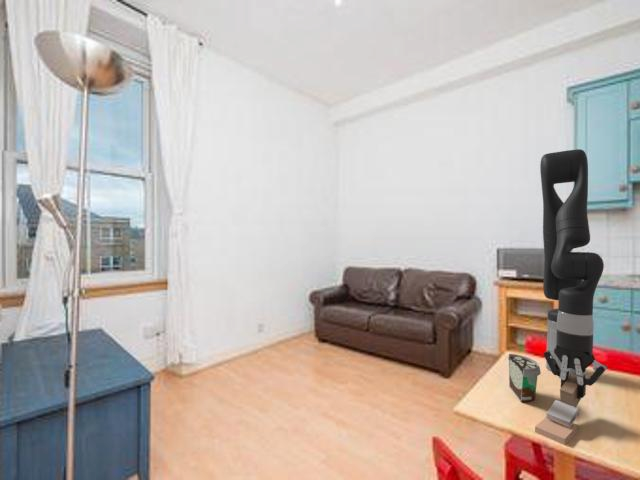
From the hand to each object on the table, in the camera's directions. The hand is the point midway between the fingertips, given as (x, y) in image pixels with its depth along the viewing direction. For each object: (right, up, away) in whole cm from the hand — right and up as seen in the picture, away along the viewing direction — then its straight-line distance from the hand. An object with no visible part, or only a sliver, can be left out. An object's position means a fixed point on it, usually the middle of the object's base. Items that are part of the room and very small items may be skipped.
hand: (572, 395), depth 87 cm
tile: (-6, -5, -4) cm, 9 cm away
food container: (-5, -5, +11) cm, 14 cm away
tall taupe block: (-2, -2, -1) cm, 3 cm away
